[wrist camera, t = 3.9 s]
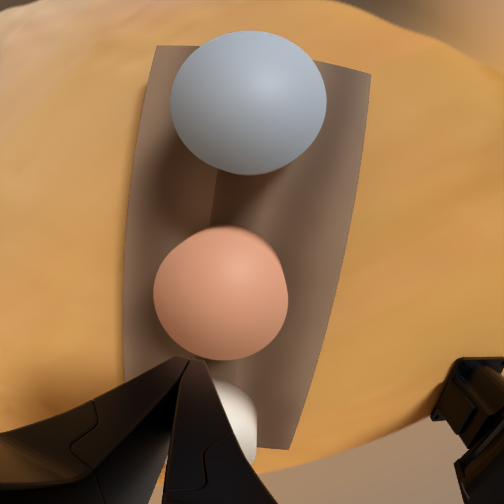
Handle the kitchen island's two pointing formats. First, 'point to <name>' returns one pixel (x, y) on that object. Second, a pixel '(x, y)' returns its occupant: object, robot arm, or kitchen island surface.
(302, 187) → the button board
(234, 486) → the robot arm
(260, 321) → the peach rounded lump
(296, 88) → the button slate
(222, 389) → the cream white rounded ball
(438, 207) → the kitchen island surface
